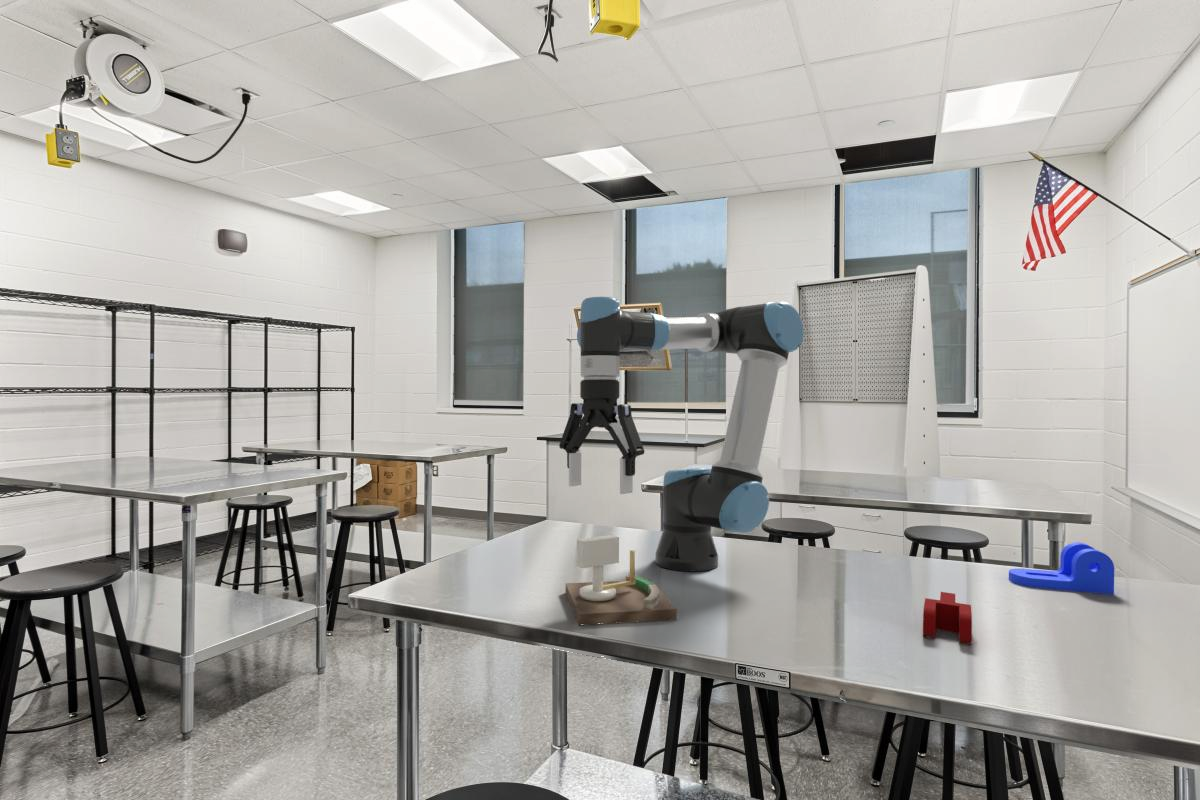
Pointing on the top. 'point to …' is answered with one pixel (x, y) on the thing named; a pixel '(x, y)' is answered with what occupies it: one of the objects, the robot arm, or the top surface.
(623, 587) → the wooden base board
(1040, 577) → the bracket
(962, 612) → the mechanical linkage
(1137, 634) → the top surface
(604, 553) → the peg
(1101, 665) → the top surface
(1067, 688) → the top surface
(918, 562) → the top surface
